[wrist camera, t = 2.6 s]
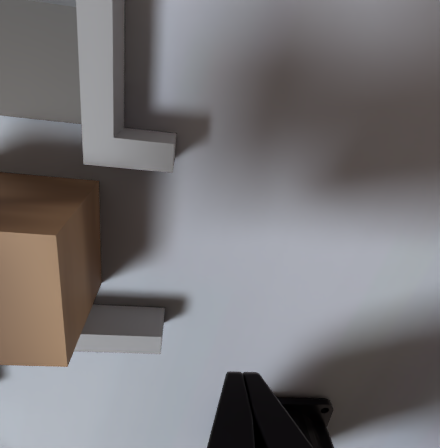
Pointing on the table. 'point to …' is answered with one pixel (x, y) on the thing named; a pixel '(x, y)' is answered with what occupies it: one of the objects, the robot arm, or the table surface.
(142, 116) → the table surface
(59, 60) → the trap lane
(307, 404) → the robot arm
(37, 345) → the walnut block
